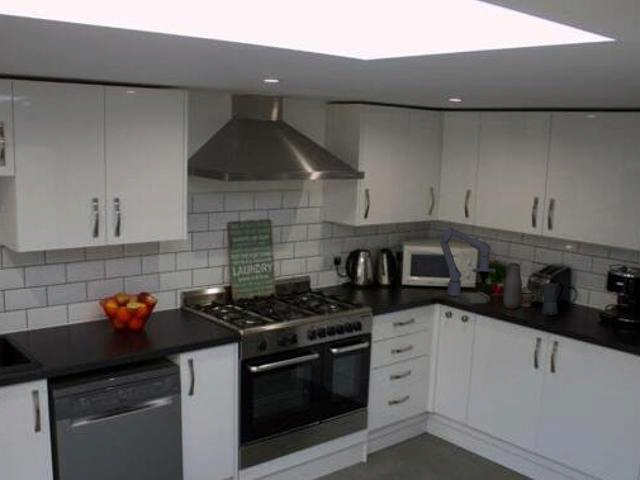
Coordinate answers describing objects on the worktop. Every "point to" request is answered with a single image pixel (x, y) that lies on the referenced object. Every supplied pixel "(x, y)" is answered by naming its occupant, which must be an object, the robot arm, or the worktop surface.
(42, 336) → the worktop surface
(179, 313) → the worktop surface
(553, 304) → the moka pot
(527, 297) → the teacup with lid
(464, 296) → the seat panel
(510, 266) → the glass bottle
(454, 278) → the robot arm
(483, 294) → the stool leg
